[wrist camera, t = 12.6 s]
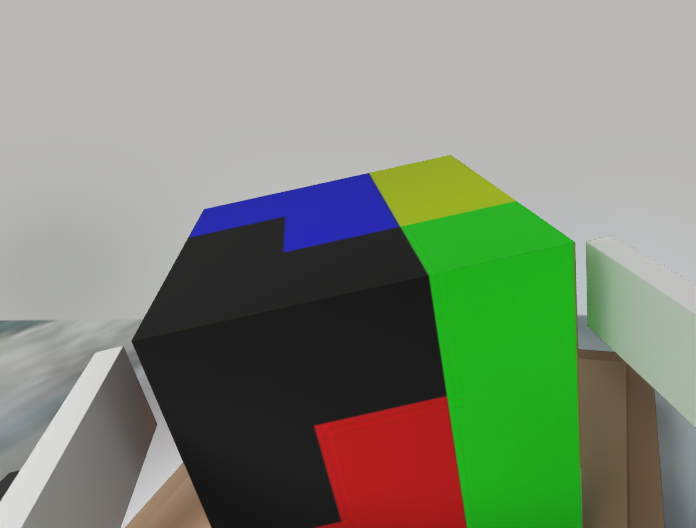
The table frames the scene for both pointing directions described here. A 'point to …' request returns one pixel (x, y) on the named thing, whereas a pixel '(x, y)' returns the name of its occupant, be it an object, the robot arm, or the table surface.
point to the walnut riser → (595, 447)
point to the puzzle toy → (373, 357)
